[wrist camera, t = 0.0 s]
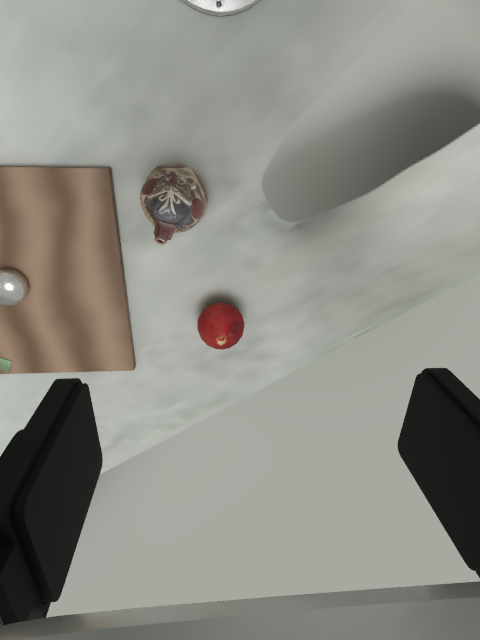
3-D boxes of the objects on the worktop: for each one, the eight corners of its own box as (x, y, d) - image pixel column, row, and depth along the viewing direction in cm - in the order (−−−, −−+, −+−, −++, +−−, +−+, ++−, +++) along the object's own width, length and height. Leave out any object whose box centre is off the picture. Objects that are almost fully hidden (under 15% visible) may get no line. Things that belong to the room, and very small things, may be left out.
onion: (235, 288, 48) (239, 314, 41) (246, 325, 51) (252, 356, 44) (192, 300, 49) (190, 328, 41) (206, 336, 51) (205, 369, 44)
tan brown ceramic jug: (217, 181, 42) (220, 195, 32) (193, 237, 45) (188, 268, 34) (157, 151, 40) (139, 156, 30) (136, 212, 43) (112, 236, 32)
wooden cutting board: (110, 167, 41) (107, 168, 39) (135, 365, 52) (133, 371, 51) (-143, 163, 39) (-155, 164, 37) (-59, 370, 50) (-66, 376, 49)
